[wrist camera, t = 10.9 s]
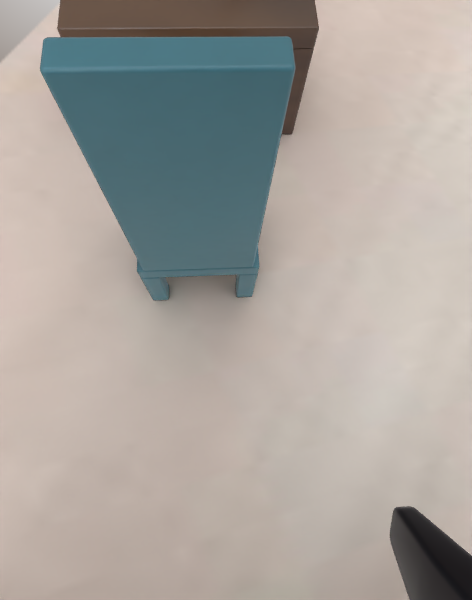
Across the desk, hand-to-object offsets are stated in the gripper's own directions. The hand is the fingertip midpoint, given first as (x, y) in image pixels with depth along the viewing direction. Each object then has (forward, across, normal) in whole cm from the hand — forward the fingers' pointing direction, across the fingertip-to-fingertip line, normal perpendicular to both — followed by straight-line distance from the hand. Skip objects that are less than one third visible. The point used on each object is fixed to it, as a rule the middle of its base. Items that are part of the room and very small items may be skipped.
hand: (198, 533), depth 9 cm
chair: (+14, 0, -3) cm, 14 cm away
